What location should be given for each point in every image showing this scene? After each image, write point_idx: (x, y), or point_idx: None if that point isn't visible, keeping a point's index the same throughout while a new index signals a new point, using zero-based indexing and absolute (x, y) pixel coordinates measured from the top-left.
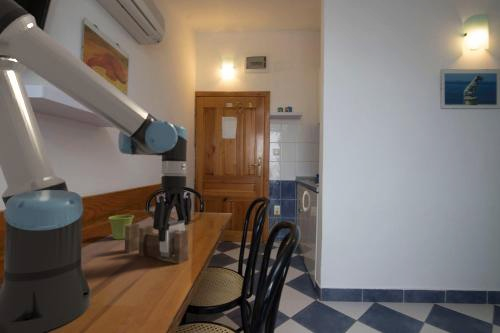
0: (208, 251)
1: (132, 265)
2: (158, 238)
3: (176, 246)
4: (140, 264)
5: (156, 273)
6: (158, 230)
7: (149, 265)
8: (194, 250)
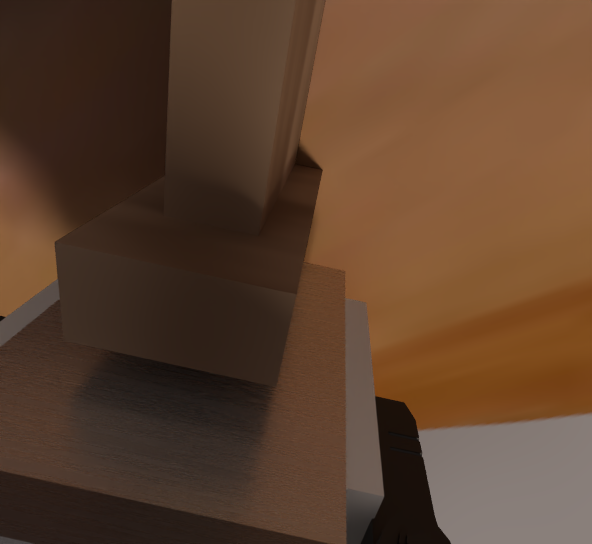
0: (480, 420)
1: (11, 14)
2: (126, 204)
3: None
4: (62, 72)
5: (17, 284)
6: (56, 245)
7: (83, 162)
8: (497, 327)
